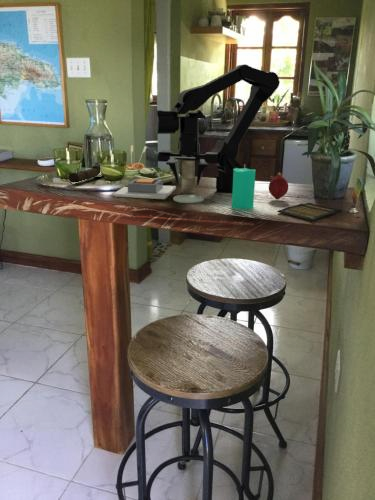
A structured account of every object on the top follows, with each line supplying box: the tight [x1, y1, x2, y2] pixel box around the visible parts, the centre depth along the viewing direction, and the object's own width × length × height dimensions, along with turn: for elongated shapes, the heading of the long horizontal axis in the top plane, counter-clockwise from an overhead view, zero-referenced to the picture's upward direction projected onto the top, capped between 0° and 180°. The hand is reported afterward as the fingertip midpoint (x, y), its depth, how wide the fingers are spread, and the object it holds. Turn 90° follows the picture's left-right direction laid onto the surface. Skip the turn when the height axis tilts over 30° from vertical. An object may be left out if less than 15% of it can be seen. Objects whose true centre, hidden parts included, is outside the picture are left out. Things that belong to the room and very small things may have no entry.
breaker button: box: [136, 178, 156, 184], centre depth 141 cm, size 5×5×1 cm
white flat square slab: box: [112, 178, 177, 200], centre depth 141 cm, size 16×16×3 cm
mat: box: [173, 194, 205, 204], centre depth 133 cm, size 9×9×1 cm
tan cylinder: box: [181, 160, 196, 195], centre depth 141 cm, size 4×4×10 cm
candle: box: [231, 165, 257, 210], centre depth 124 cm, size 6×6×12 cm
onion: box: [268, 172, 289, 200], centre depth 134 cm, size 6×6×8 cm
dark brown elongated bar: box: [68, 164, 100, 182], centre depth 157 cm, size 19×4×5 cm, turn 154°
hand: (188, 184), depth 142 cm, fingers closed on tan cylinder, 6 cm apart
